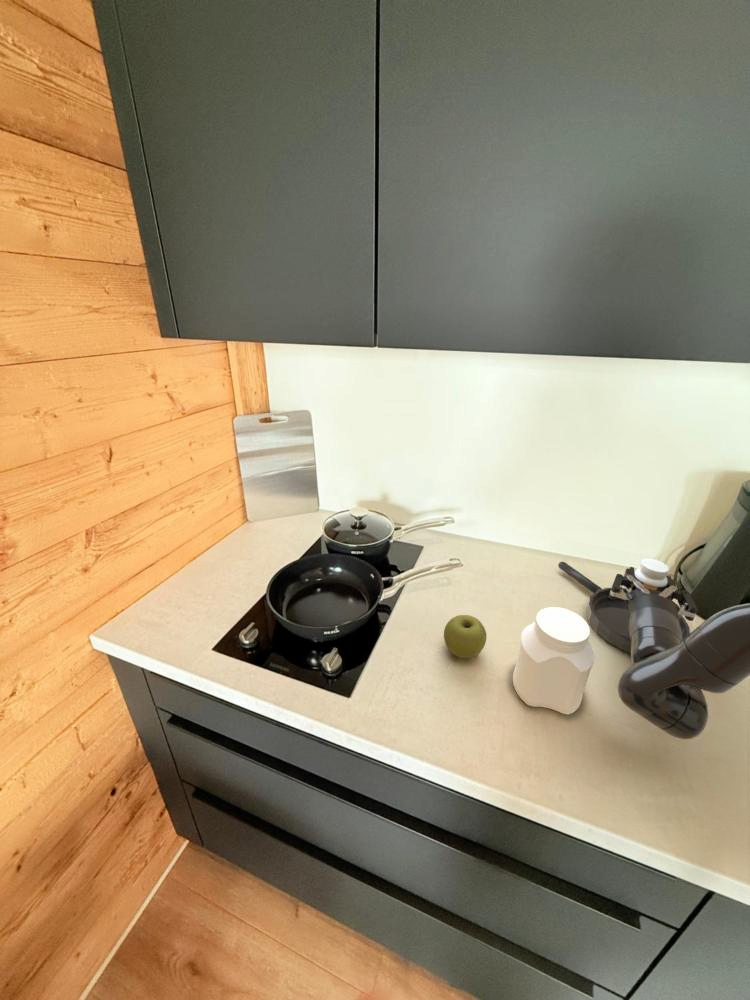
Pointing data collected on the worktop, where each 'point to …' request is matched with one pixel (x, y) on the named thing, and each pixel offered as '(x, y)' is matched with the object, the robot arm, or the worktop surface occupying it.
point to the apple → (465, 636)
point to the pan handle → (579, 577)
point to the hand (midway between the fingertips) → (648, 575)
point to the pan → (616, 619)
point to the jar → (554, 661)
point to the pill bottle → (652, 574)
